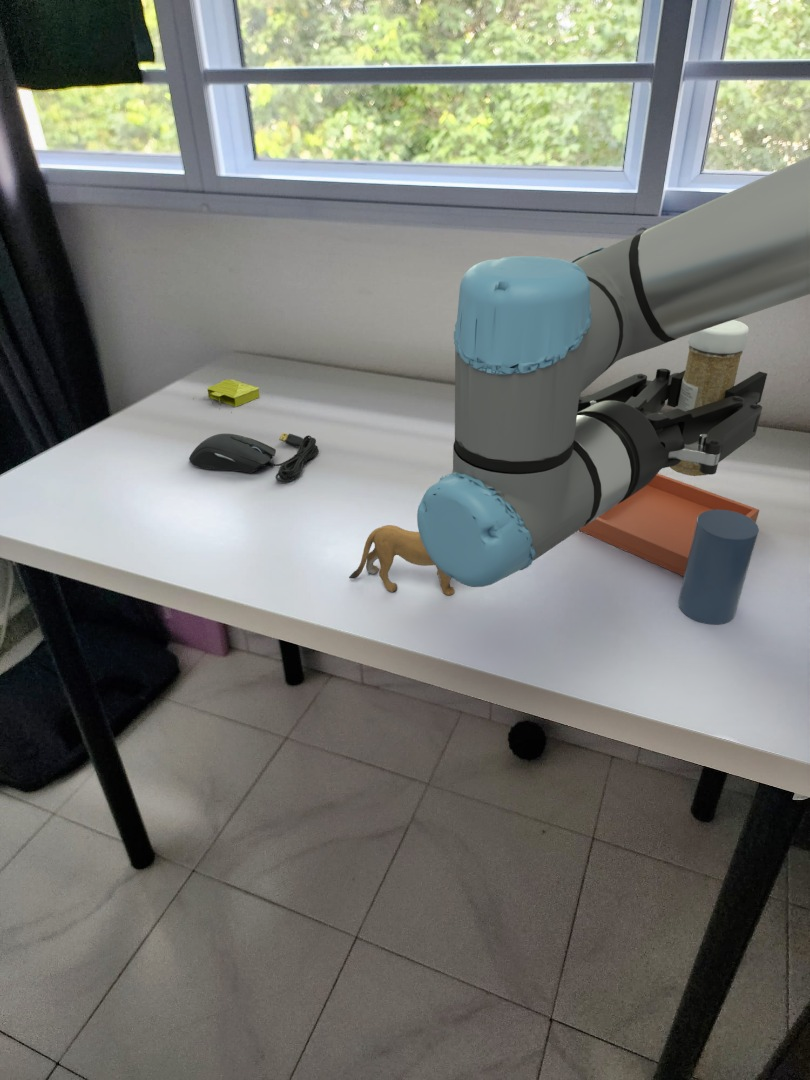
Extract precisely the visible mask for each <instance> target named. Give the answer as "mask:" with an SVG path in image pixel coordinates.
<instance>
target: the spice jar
mask: <svg viewBox="0 0 810 1080" xmlns="http://www.w3.org/2000/svg"><path fill="white" fill-rule="evenodd" d="M749 333H750V328H749V326H748V325H747V324H746V323H744V322H742V321H740V320H736V319H734V320H731V321H728V322H725V323H722V324H719V325H716V326H713V327H710V328H707V329H704V330H701V331H698V332H695V333H692V334H689V337H688V354H687V358H686V359H687V360H686V364H685V365H686V366H685V369H684V370H685V374H684V377H683V380H682V385H681V391H680V396H679V401H678V406H676V409H681V410H683V411H688V410H691V409H694V408H697V407H700V406H703V405H706V404H709V403H713V402H716V401H719V400H722V399H724V397H725V393H726V391H727V390H729V389H730V388H732V387H734V386H735V385H736V379H737V375H738V370H739V365H740V362H741V356H742V354H743V351H744V350H745V349H746V346H747V341H748V337H749ZM692 444H693V443H692ZM669 468H670V469H671V470H673V471H674V472H676V473H678V474H682V475H685V476H690V477H701V476H708V474H704V473H701V472H700V470H699V469H700V465H696V464H695V463H694V462H690V461H684V460H681V462H680V463H679V464H677V465H675V466H672V467H669Z"/></svg>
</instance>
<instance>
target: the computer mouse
mask: <svg viewBox="0 0 810 1080" xmlns="http://www.w3.org/2000/svg"><path fill="white" fill-rule="evenodd" d="M278 440H279V441H281V442H284V443H285V444H286V445H289V446H292V447H294V448H297V451H296V453H295V454H293V456H292V457H291V458H289V459H287V460H285V461H283V462H281V463H274V462H273V461H271V460H272V459H274V457H275V456H276V452H277V449H276V448H274V447H272V446H270V445H268V444H266V443H264V442H261V441H259V440H257V439H254V438H251V437H247V436H243V435H240V434H235V433H217V434H214V435H211V436H209V437H207V438H206V439H204V440H203V441H201V442H200V443H199V444H198V445H197V446H196V447H195V448H194V449H193V451H192V452H191V454H190V455H189V457H188V460H189V462H190V463H191V464H192V465H193V466H194V467H196V468H200V469H204V470H205V469H206V470H212V471H236V472H243V473H249V474H251V473H254V472H256V471H258V470H260V469H262V468H263V467H271V468H274V467H279V468H278V472H277V473H276V474H275V480H276V481H279V482H281V483H288V482H291V481H293V480H294V479H295V478H296V477H299V476H300V474H301V473H302V471H303V466H304V465H306V464H307V461H309V460H311V459H313V458H314V457H316V456H317V455H318V454H319V451H320V450H319V446H318V445H317V444H316V443H317V439H316V438H315V437H312V436H311V435H310V434H309V435H306V436H304V437H301V436H299V435H295V434H293V433H286V432H281V435H280V437H279V439H278Z"/></svg>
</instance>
